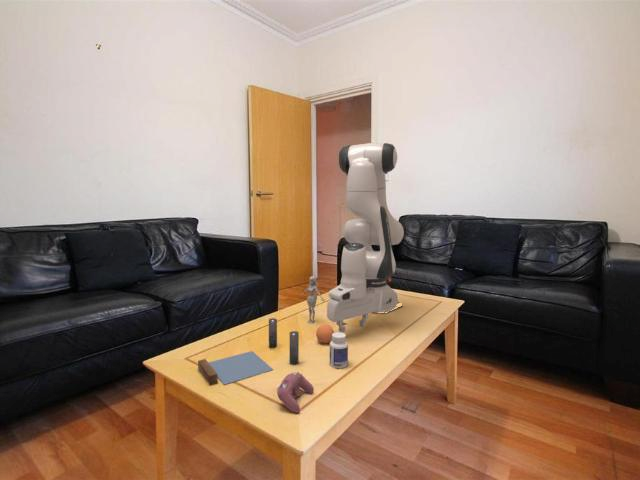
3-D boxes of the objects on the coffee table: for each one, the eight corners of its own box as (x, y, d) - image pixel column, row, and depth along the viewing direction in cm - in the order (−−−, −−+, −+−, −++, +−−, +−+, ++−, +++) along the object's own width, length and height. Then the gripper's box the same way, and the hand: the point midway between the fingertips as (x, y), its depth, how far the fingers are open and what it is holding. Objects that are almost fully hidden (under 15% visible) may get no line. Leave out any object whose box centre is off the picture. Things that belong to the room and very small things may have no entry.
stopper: (205, 367, 97) (205, 358, 96) (217, 383, 89) (217, 373, 88) (198, 369, 95) (198, 360, 95) (209, 385, 87) (209, 376, 87)
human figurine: (297, 319, 136) (297, 274, 134) (304, 317, 138) (304, 273, 136) (320, 327, 128) (320, 279, 126) (326, 324, 130) (327, 278, 128)
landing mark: (252, 351, 107) (252, 350, 107) (273, 370, 96) (273, 369, 96) (206, 363, 99) (206, 362, 99) (224, 385, 87) (224, 384, 87)
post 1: (274, 344, 112) (274, 317, 111) (278, 347, 110) (278, 320, 109) (267, 346, 111) (267, 319, 110) (271, 349, 109) (271, 321, 108)
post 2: (295, 359, 102) (295, 330, 101) (300, 363, 100) (300, 333, 99) (287, 362, 100) (287, 332, 99) (292, 365, 98) (292, 335, 97)
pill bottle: (351, 364, 99) (352, 335, 98) (339, 370, 96) (339, 340, 95) (337, 358, 103) (338, 329, 102) (325, 364, 99) (326, 334, 98)
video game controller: (301, 394, 86) (289, 369, 87) (316, 390, 85) (304, 364, 85) (283, 418, 77) (270, 389, 78) (299, 413, 76) (286, 384, 76)
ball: (326, 337, 119) (327, 320, 118) (337, 343, 114) (338, 325, 113) (312, 341, 115) (312, 323, 114) (323, 347, 110) (323, 329, 110)
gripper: (368, 284, 128) (367, 320, 130) (324, 292, 116) (324, 331, 118) (381, 288, 123) (379, 325, 125) (336, 296, 111) (335, 338, 113)
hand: (352, 328), depth 121 cm, fingers open, 8 cm apart
